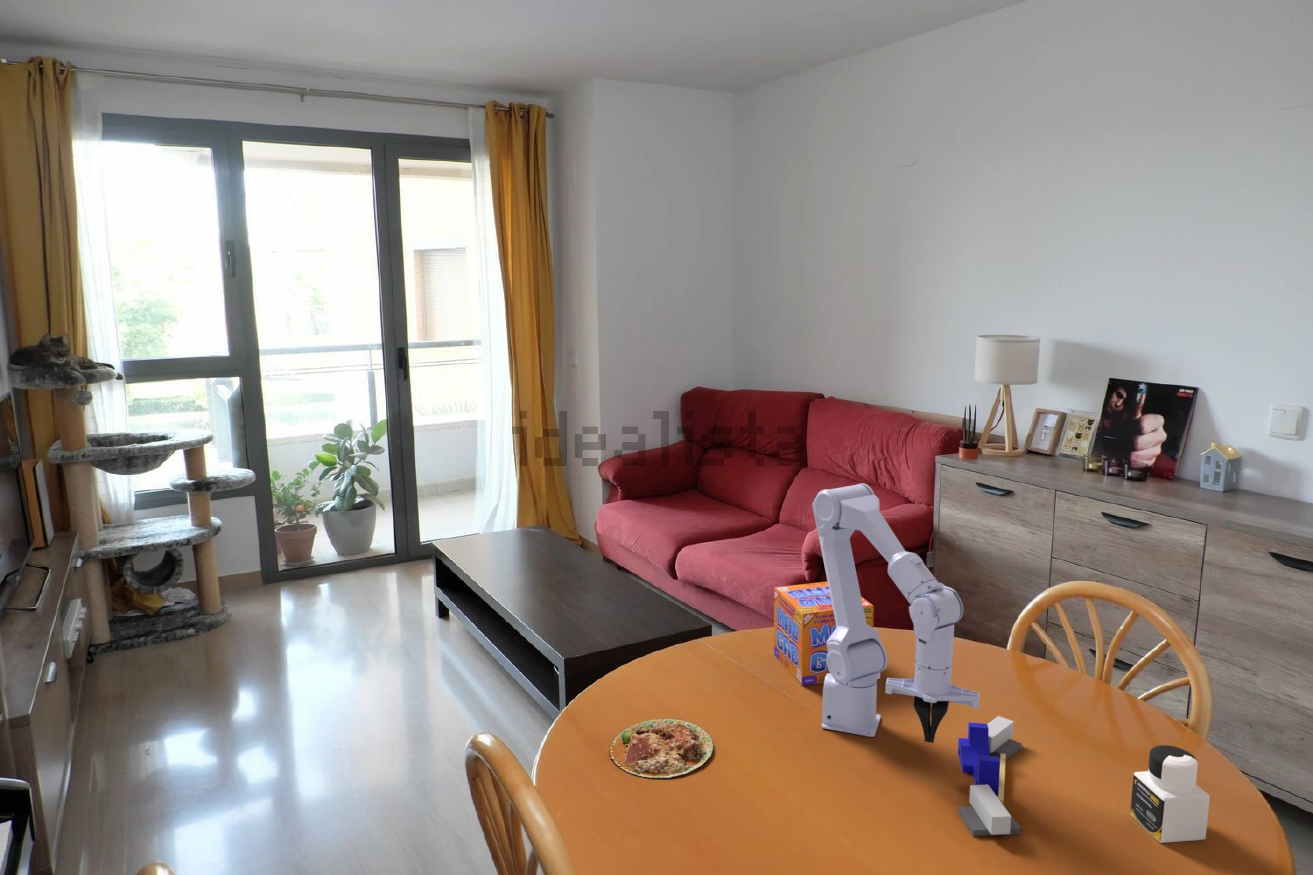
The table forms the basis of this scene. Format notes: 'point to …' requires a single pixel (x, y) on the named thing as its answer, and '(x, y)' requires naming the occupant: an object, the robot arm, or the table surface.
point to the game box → (806, 629)
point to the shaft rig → (986, 806)
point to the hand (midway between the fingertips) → (929, 739)
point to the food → (664, 747)
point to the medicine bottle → (1170, 797)
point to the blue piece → (979, 757)
